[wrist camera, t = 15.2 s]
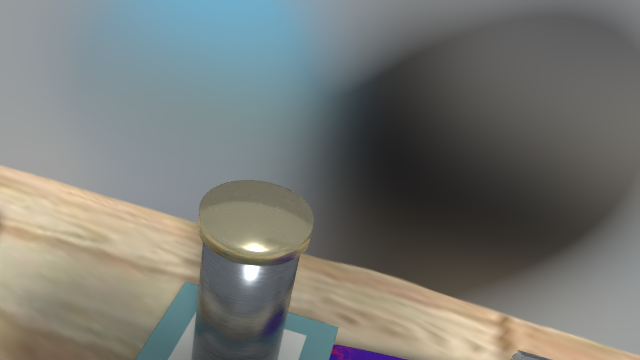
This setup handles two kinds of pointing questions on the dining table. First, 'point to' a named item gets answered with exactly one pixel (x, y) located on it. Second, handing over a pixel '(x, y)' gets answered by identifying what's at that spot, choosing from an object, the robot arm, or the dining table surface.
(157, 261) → the dining table surface
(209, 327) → the metal jar with lid
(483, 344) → the dining table surface
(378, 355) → the handheld gaming console
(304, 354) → the stand
